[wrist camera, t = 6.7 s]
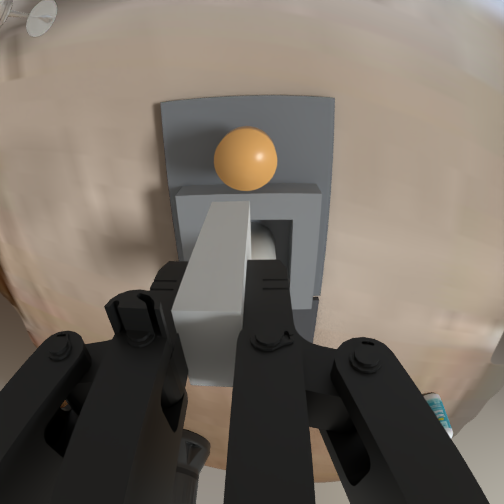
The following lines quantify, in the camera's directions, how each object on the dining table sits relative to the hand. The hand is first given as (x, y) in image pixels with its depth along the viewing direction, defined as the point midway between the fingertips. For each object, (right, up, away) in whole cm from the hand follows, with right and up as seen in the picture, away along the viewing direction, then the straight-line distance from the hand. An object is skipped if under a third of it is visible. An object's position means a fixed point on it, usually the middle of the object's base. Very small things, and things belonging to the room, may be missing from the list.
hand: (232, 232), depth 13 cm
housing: (+1, +4, +19) cm, 19 cm away
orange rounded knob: (0, +8, +13) cm, 15 cm away
